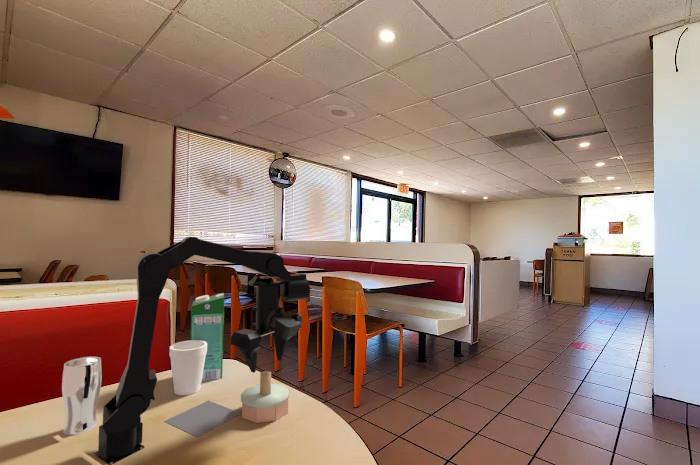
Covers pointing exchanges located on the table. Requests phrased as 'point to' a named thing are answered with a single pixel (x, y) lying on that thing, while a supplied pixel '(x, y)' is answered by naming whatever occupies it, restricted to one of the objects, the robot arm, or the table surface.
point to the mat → (202, 418)
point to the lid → (264, 393)
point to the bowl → (264, 412)
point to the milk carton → (209, 331)
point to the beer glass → (81, 393)
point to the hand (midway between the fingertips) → (267, 365)
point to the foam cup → (187, 365)
